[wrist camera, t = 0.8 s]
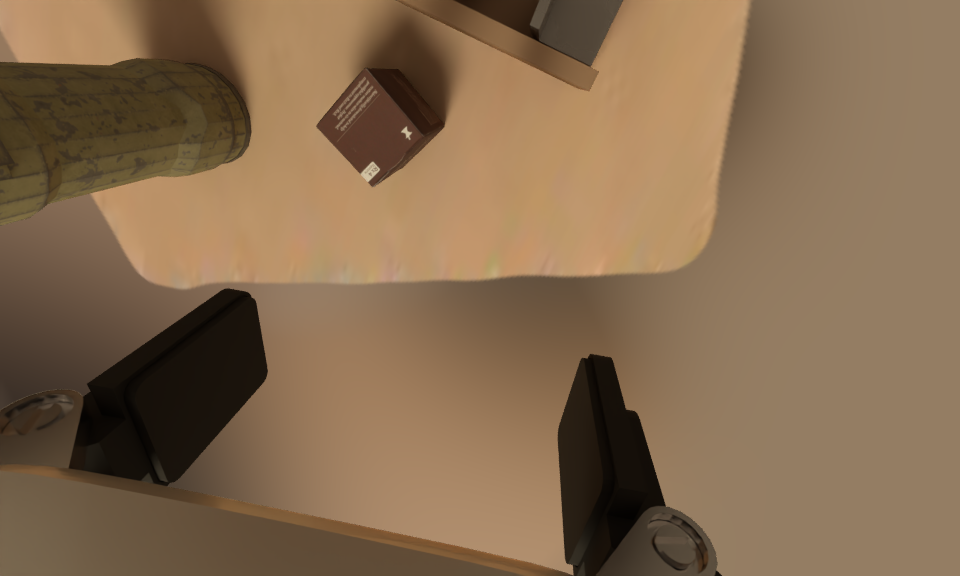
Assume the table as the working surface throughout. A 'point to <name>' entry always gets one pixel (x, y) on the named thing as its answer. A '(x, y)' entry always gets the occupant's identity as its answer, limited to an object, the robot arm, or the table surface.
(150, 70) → the robed figure statue
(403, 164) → the box
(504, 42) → the shelf
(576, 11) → the bookend
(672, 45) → the table surface
